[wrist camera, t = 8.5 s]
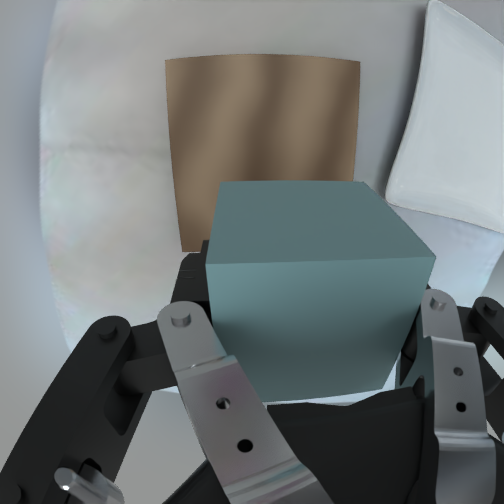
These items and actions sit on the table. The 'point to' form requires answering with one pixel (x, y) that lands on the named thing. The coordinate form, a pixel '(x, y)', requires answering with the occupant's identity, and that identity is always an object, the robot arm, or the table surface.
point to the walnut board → (256, 126)
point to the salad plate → (454, 125)
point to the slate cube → (312, 285)
